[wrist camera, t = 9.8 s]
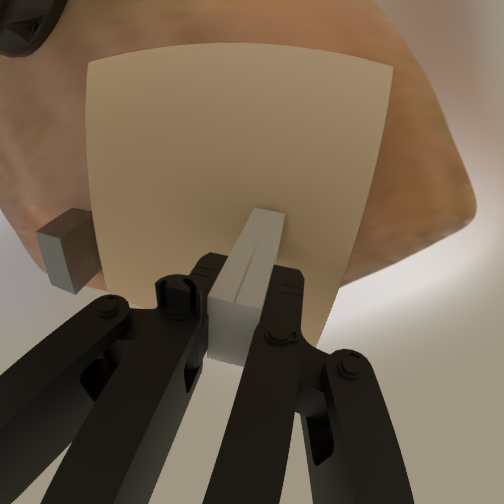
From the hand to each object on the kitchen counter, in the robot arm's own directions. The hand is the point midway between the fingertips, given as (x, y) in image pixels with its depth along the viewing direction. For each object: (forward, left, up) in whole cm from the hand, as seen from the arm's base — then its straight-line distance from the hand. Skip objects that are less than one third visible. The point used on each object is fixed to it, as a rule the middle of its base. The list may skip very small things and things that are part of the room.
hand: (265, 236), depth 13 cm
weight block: (+12, -25, -13) cm, 31 cm away
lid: (0, -4, -2) cm, 4 cm away
